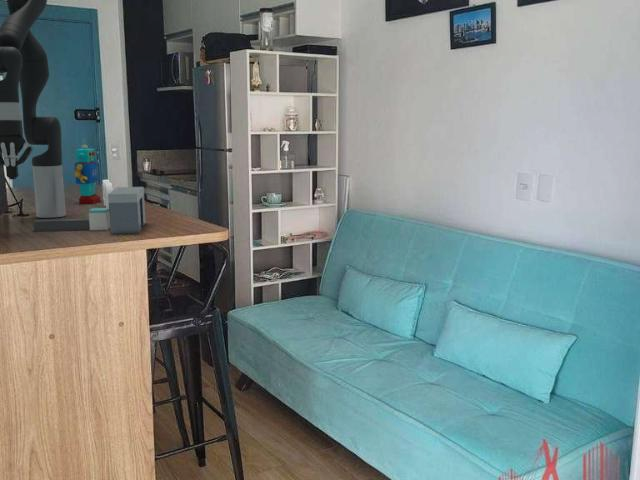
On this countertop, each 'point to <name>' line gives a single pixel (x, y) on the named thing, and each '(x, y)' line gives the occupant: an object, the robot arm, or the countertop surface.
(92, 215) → the plug
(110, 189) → the letter
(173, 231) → the countertop surface
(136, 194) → the housing
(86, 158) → the toy robot
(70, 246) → the countertop surface
